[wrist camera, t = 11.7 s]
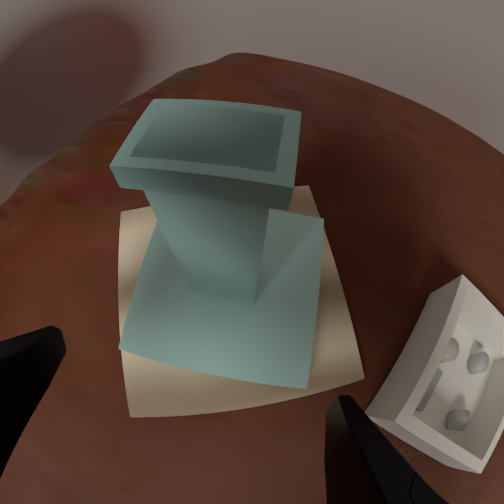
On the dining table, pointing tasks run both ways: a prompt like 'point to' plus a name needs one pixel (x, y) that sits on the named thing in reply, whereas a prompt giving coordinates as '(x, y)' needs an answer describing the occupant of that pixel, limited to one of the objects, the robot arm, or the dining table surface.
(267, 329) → the lid
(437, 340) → the tub
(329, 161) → the dining table surface
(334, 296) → the board
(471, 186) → the dining table surface
